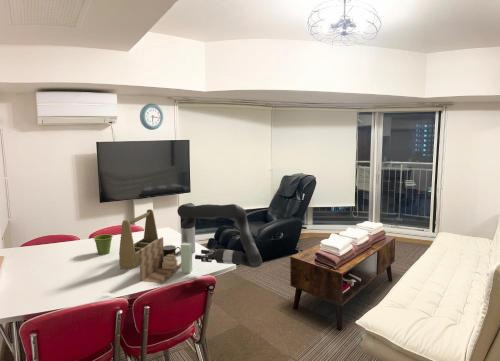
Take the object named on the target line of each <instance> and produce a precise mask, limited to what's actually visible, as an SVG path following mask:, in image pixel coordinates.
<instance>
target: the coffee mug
mask: <svg viewBox="0 0 500 361" xmlns="http://www.w3.org/2000/svg"><path fill="white" fill-rule="evenodd" d="M163 248H164V257H165V256H166V255H168V254H169V255H175V256H176V257H177V256H178V255H179V254H180V253H181V247H180V246H176V245H173V244H168V245H163ZM177 249H179V251H178V252H177V253H176V250H177Z"/></svg>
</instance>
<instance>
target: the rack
mask: <svg viewBox="0 0 500 361" xmlns="http://www.w3.org/2000/svg"><path fill="white" fill-rule="evenodd" d="M163 246H164V237H162V236H161V237H160V238H158V240H156V241H155V242H153V243H151V244H150V245H148V246H146V247H145V248H143V249H141V250H140V251H139V254H140V265H139V271H140V272H139V273H140V282H143V283H144V282H145V283H152V284H153V283H154V284H164V283H165V282H166V281H167V280H169V279H170V278H172V276H173V275H175V274H176V273H177V272H178V271H179V270H180V269H181V262H180V263H179V264H178V265H177V267H176V268H174V269H162V263H163V257H164V248H163Z"/></svg>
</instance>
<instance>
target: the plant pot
mask: <svg viewBox="0 0 500 361" xmlns="http://www.w3.org/2000/svg"><path fill="white" fill-rule="evenodd" d="M113 238H114V235H113V234H107V233H106V234H98V235H95V236H94V237H93V240H94V242H95V246H96V250H97V254H98V255H101V256H103V255H108V254H109V253H110V251H111V246H112V245H111V243H112V240H113Z"/></svg>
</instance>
